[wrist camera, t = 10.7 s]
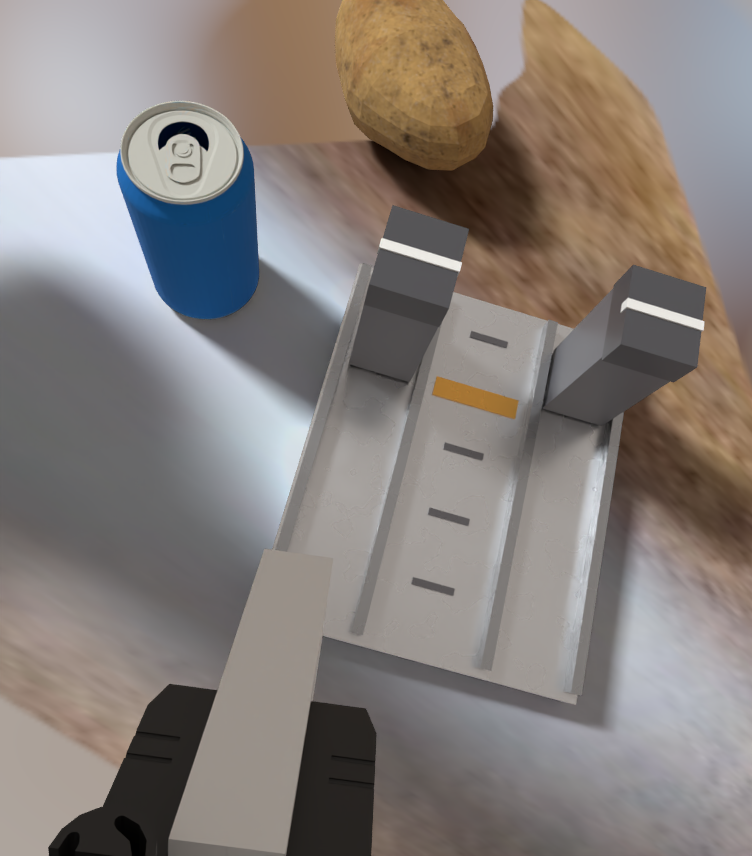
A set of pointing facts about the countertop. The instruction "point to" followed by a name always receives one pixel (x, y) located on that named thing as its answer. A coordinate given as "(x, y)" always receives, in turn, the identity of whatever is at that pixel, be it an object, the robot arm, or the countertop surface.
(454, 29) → the potato
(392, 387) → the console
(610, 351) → the fader far
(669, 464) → the countertop surface
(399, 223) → the fader near
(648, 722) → the countertop surface
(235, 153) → the beverage can
